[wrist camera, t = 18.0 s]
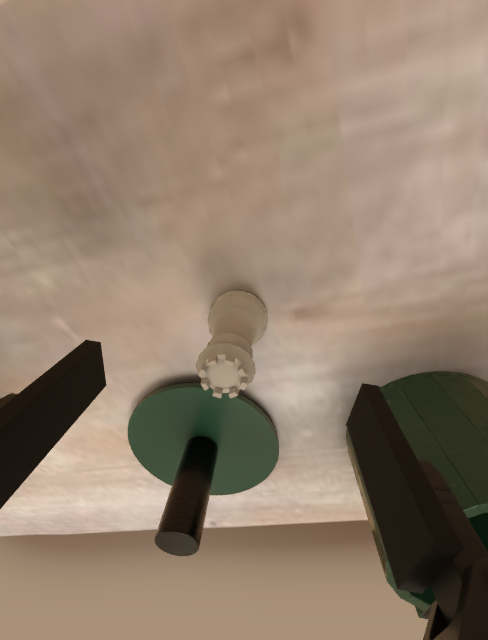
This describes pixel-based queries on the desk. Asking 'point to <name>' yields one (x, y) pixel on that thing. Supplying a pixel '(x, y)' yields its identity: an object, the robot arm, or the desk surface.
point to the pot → (440, 448)
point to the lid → (199, 454)
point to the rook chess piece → (231, 343)
